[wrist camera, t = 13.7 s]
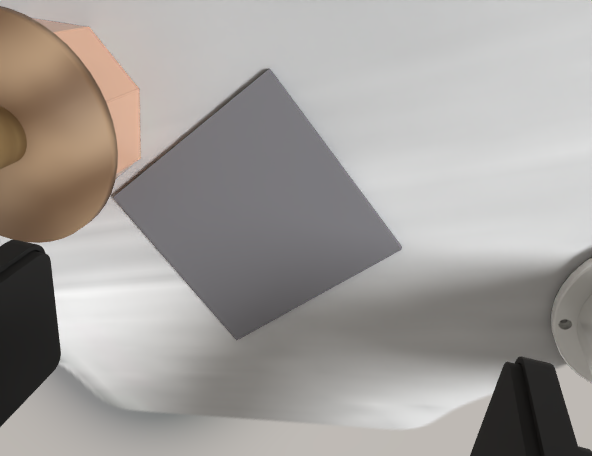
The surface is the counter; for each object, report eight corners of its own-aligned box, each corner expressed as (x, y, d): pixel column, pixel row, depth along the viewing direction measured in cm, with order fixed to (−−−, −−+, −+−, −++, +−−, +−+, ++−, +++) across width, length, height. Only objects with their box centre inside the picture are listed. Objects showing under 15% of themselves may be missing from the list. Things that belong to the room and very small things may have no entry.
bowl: (173, 130, 41) (134, 154, 35) (72, 216, 46) (25, 248, 41) (51, -20, 38) (-11, -19, 33) (-41, 90, 43) (-107, 107, 38)
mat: (401, 246, 40) (401, 249, 40) (238, 336, 48) (236, 340, 47) (269, 68, 37) (267, 69, 36) (115, 195, 44) (112, 197, 44)
